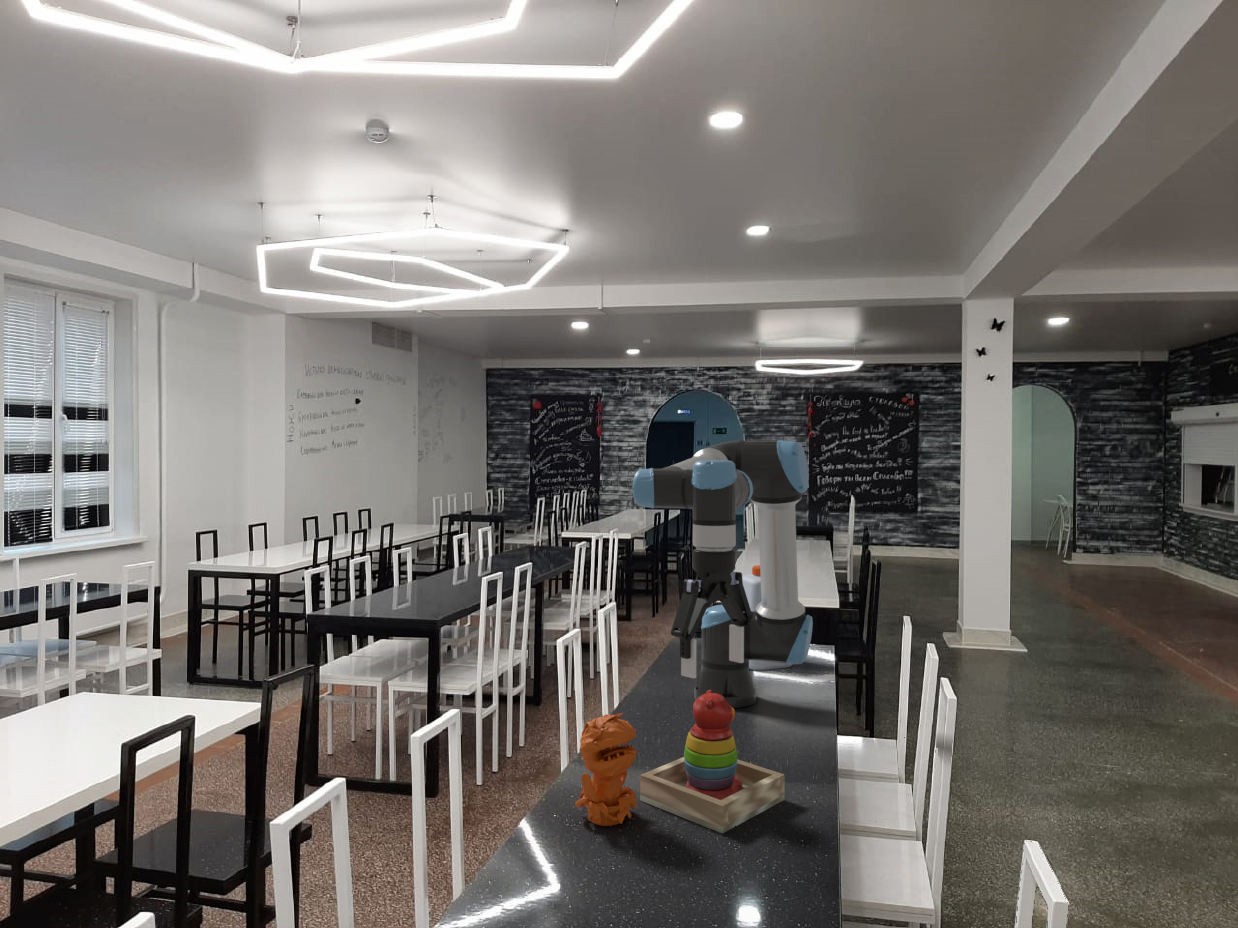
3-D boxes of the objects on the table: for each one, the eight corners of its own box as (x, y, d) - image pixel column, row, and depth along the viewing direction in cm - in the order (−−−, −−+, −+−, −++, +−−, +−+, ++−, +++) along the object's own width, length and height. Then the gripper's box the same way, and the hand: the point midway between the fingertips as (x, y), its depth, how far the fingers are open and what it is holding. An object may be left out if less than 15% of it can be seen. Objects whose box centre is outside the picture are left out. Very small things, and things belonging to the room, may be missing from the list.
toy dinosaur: (617, 839, 132) (618, 726, 131) (561, 823, 138) (562, 714, 137) (652, 813, 141) (653, 708, 141) (599, 799, 147) (599, 697, 147)
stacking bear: (739, 809, 141) (740, 704, 140) (680, 804, 143) (680, 700, 142) (743, 784, 151) (743, 686, 151) (687, 779, 153) (687, 683, 153)
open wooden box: (703, 771, 159) (703, 748, 159) (784, 799, 147) (784, 774, 147) (640, 800, 147) (640, 774, 146) (722, 833, 134) (722, 805, 134)
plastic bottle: (753, 672, 230) (754, 571, 229) (725, 659, 244) (726, 564, 243) (799, 667, 236) (800, 568, 235) (769, 655, 250) (770, 561, 249)
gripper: (738, 540, 157) (738, 652, 158) (650, 553, 140) (649, 678, 140) (772, 543, 152) (771, 659, 153) (684, 557, 134) (684, 688, 135)
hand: (713, 668), depth 146 cm, fingers open, 13 cm apart
